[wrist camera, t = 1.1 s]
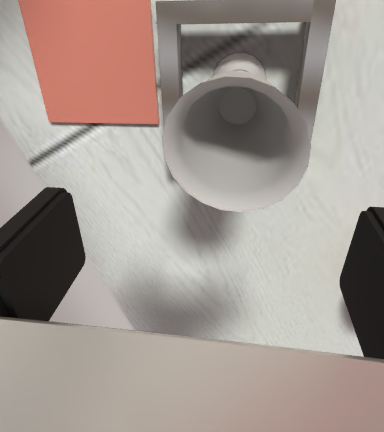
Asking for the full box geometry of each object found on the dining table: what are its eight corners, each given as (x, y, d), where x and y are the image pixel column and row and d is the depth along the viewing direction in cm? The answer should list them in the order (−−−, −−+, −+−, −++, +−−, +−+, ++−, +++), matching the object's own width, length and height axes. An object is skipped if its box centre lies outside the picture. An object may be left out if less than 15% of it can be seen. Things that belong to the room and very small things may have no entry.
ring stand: (167, 2, 29) (155, 1, 25) (323, -2, 27) (336, -4, 23) (174, 146, 35) (166, 162, 32) (299, 149, 34) (306, 167, 30)
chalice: (293, 67, 30) (343, 127, 15) (252, 131, 34) (260, 232, 18) (222, 25, 29) (200, 44, 14) (188, 96, 32) (141, 172, 17)
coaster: (18, -14, 29) (14, -14, 29) (149, -19, 28) (147, -19, 27) (51, 120, 36) (49, 122, 35) (159, 122, 34) (158, 124, 34)
